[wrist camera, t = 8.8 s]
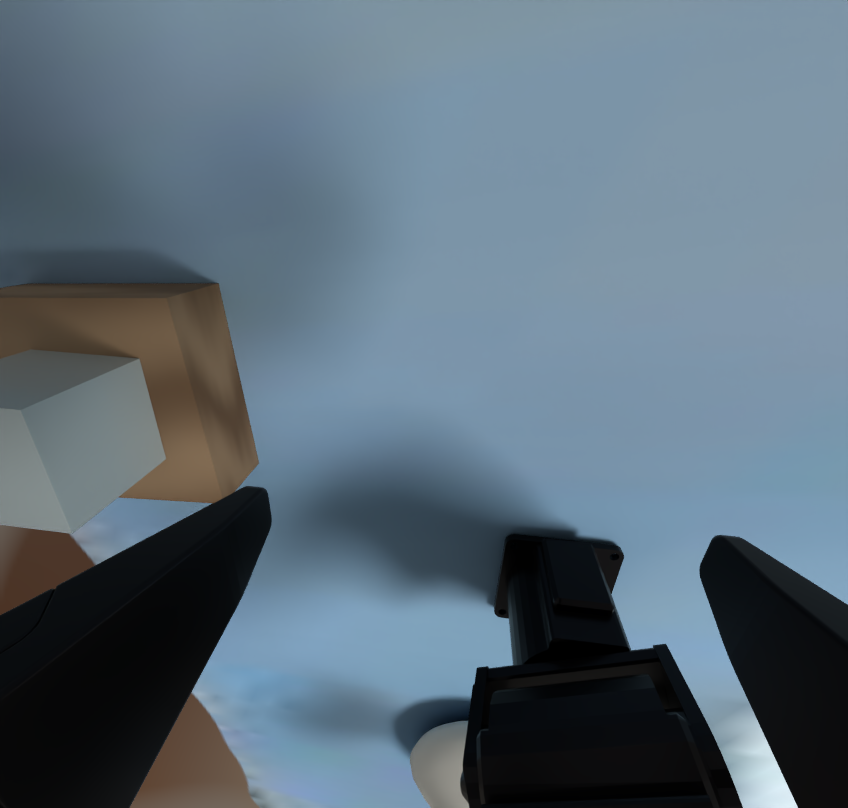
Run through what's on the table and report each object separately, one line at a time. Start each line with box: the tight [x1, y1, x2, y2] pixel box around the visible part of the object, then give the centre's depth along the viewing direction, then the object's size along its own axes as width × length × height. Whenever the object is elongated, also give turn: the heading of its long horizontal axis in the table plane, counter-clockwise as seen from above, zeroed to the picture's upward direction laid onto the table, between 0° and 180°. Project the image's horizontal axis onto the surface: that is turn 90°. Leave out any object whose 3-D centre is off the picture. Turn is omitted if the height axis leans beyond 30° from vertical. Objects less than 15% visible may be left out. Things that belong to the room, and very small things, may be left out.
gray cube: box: [0, 349, 166, 534], centre depth 16 cm, size 5×5×5 cm
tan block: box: [0, 283, 259, 503], centre depth 20 cm, size 10×10×4 cm
